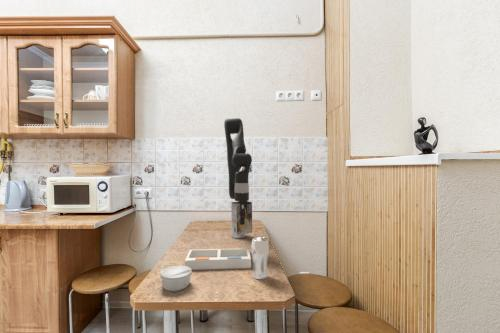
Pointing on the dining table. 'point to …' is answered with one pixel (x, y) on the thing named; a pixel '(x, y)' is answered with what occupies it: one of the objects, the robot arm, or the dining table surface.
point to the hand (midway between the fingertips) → (241, 222)
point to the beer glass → (260, 257)
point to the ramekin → (176, 277)
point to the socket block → (218, 259)
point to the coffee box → (236, 225)
